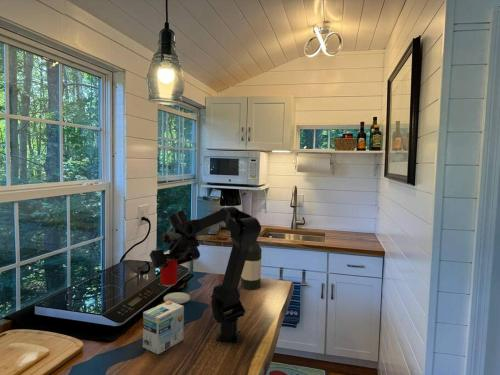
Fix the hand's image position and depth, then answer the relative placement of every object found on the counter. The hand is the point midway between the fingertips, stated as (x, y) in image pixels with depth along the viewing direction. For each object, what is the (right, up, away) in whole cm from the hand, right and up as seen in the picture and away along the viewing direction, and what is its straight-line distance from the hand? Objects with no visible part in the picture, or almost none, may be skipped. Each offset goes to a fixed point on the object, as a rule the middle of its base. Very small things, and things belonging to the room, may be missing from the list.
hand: (167, 266), depth 135 cm
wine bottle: (+32, -13, +19) cm, 39 cm away
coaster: (+3, -13, +3) cm, 14 cm away
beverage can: (+1, -7, 0) cm, 7 cm away
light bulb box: (+6, -16, -30) cm, 34 cm away
